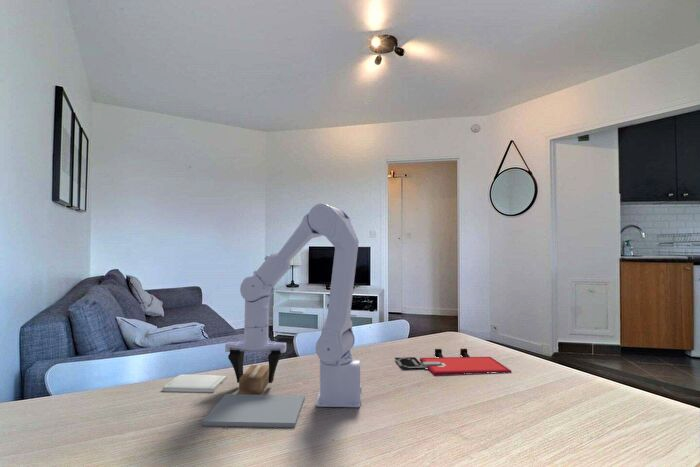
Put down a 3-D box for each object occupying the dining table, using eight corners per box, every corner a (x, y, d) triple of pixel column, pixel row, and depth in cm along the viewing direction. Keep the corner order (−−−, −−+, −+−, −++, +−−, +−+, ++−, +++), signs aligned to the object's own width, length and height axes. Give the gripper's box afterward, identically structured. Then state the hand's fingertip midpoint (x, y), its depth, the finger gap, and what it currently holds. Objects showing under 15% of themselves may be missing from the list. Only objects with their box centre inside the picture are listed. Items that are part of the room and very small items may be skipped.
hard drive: (162, 386, 80) (214, 387, 80) (180, 373, 89) (227, 374, 88) (162, 393, 80) (214, 394, 80) (180, 380, 89) (227, 380, 88)
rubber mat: (304, 399, 77) (304, 395, 77) (295, 427, 65) (295, 422, 65) (225, 397, 77) (225, 394, 77) (201, 425, 65) (201, 421, 65)
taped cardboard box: (270, 381, 87) (270, 364, 88) (260, 396, 78) (260, 378, 79) (250, 380, 88) (251, 364, 88) (238, 396, 79) (239, 377, 79)
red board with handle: (392, 358, 106) (406, 378, 91) (392, 349, 106) (406, 367, 91) (483, 357, 109) (511, 375, 94) (484, 348, 109) (511, 365, 94)
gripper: (289, 322, 87) (288, 375, 87) (233, 321, 88) (232, 374, 87) (283, 328, 80) (282, 386, 80) (222, 327, 81) (221, 385, 80)
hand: (255, 381), depth 83 cm, fingers open, 7 cm apart
